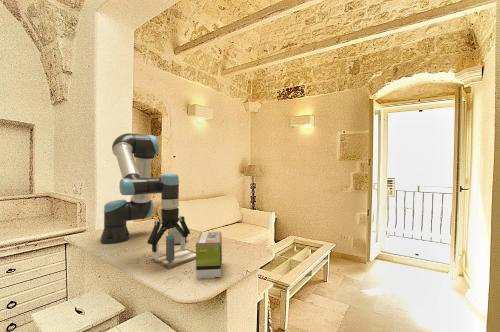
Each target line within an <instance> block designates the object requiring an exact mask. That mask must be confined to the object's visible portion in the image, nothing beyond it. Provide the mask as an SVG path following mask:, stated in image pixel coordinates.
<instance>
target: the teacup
mask: <svg viewBox="0 0 500 332" xmlns="http://www.w3.org/2000/svg"><path fill="white" fill-rule="evenodd" d="M180 227H181V228H182V225H180ZM182 229H183V228H182ZM166 231H167V236H168V235H173V236H174V245H180V236H182V235H181V234H180V233H179V231H178V230H177V229H176V228H175V227H174V228H171V229H167V230H166ZM183 231H184V230H183ZM187 237H188V236H187ZM187 237H186V239H188V238H187Z"/></svg>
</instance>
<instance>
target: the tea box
mask: <svg viewBox="0 0 500 332" xmlns="http://www.w3.org/2000/svg"><path fill="white" fill-rule="evenodd" d="M222 237H223V236H222V231H209V232H208V231H205V232H204V231H203V232H200V233H199V235H198V238H197V240H196V242H195V252H196V259H195V278H196V279H197V280H198V279H199V280H202V279H201V278H205V279H216V278H215V277H220V278H221V277H222V267H223V266H222V265H223V253H222V252H223V248H222V247H223V242H222V241H223V240H222Z"/></svg>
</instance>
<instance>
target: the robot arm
mask: <svg viewBox="0 0 500 332" xmlns="http://www.w3.org/2000/svg"><path fill="white" fill-rule="evenodd" d="M111 149H112V153H113V155H114V156H115V157H116V160H117V163H118V166H119V171H120V174H121V177H122V178H121V179H120V180H119V187H118V188H119V193H120V194H121V196H131V197H130V201H127V200H126V199H116V200H111V201H108V202H106V203H105V204H104V206H103V207H104V208H103V216H104V217H103V231H102V233H101V236H100V243H101V244H107V245H109V244H110V245H111V244H119V243H123V242H126V241H128V240H130V232H129V229H128V227H127V222H129V221H137V220H145V219H149V218H150V217H152V216H153V213H154V207H155V206H154V201H153V199H152V198H151V197H150V194H151V195H153V194H160V195H161V198H160V199H161V203H160V205H161V206H160V208H161V211H160V212H161V213H160V214H161V215H160V216H161V220H155V221H154V226H153V228H152V231H151V233H150V236H149V237H148V240H147V244H148V245H151V251H152V253H153V258H154V259H156V260H159V255H160V254H159V253H160V251H159V250H160V246H159V244H158V243H159V242H160V240H161V238H162V237H163V235H164V234H165V232H166V231H168V230H169V229H171V228H176V229H177V230H178V231H179V233H180V234H181V235H182V236H180V244H179V245H180V247H179V250H182V251H185V249H186V244H187V238H186V237H188V236H189V235H190V234H191V231H190V229H189V227H188V225H187V224H186V220H185V216H183V215H179V213H180V212H179V211H180V209H179V206H180V204H179V203H180V202H179V197H180V196H179V194H180V193H179V192H180V191H179V189H180V188H179V187H180V179H179V178H180V177H179V174H177V173H162V174H161V176H159V177H151V172H152V161H153V159H155V157H156V156H157V155H158V154H159V151H160V145H159V141H158V138H157V137H156V135H151V134H148V133H146V134H144V133H131V132H128V133H123V134H121V135H119V136H117V137H116V138H115V139H114V141H113V142H112V146H111ZM135 159H136V160H135ZM179 223H180V224H179ZM180 226H182V228H183V229H182V228H181V227H180ZM183 230H184V231H183Z"/></svg>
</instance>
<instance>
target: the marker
mask: <svg viewBox="0 0 500 332" xmlns="http://www.w3.org/2000/svg"><path fill="white" fill-rule="evenodd" d="M174 252H175V244H174V236H173V235H168V234H167V235H166V236H165V255H166V260H167V261H169V263H171V262H172V261H173V260H174Z"/></svg>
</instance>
